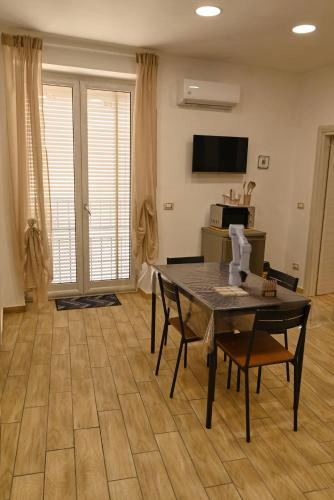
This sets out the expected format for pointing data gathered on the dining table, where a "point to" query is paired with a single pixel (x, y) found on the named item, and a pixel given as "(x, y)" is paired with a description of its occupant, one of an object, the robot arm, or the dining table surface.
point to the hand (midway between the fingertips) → (243, 282)
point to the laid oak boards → (224, 291)
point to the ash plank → (238, 291)
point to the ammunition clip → (269, 289)
